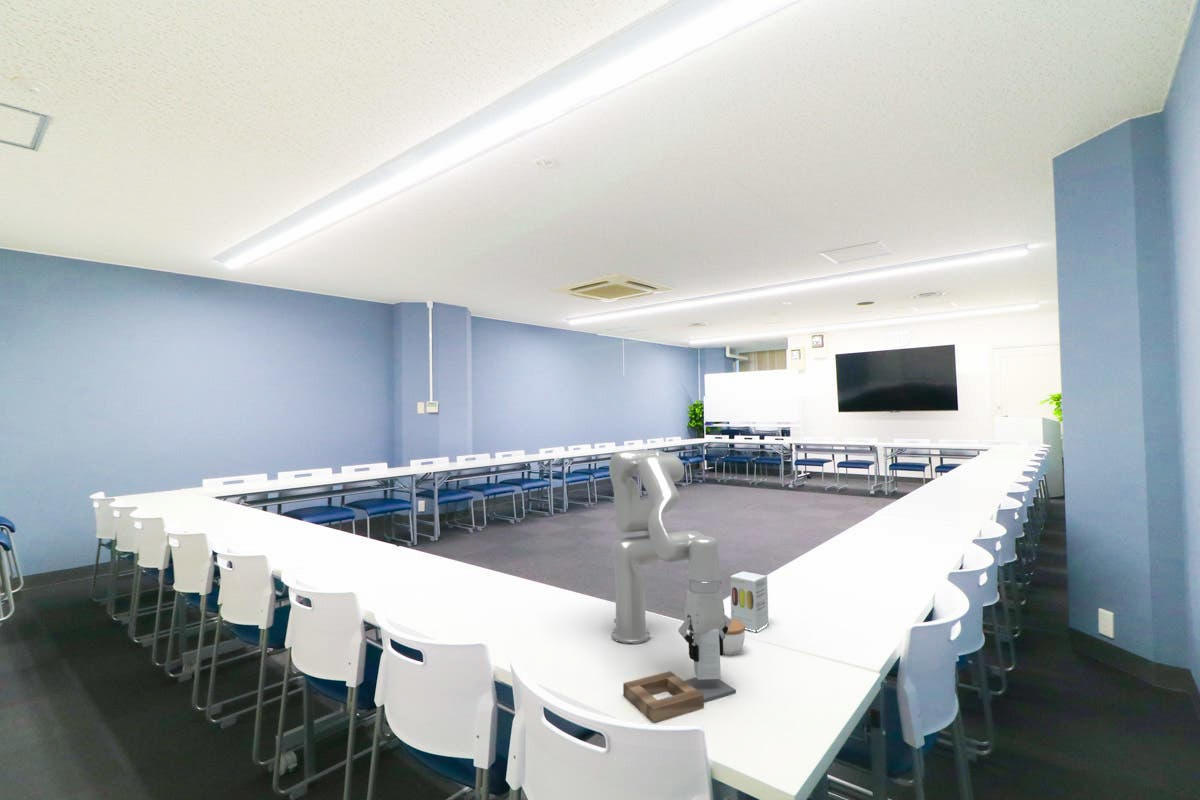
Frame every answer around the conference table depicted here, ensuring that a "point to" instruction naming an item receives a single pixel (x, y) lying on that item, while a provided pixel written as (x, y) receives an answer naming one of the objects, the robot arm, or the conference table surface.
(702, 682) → the pad
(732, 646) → the lidded jar
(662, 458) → the robot arm
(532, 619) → the conference table surface
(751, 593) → the supplement box
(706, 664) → the skincare box
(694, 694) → the frame
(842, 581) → the conference table surface
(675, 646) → the conference table surface
